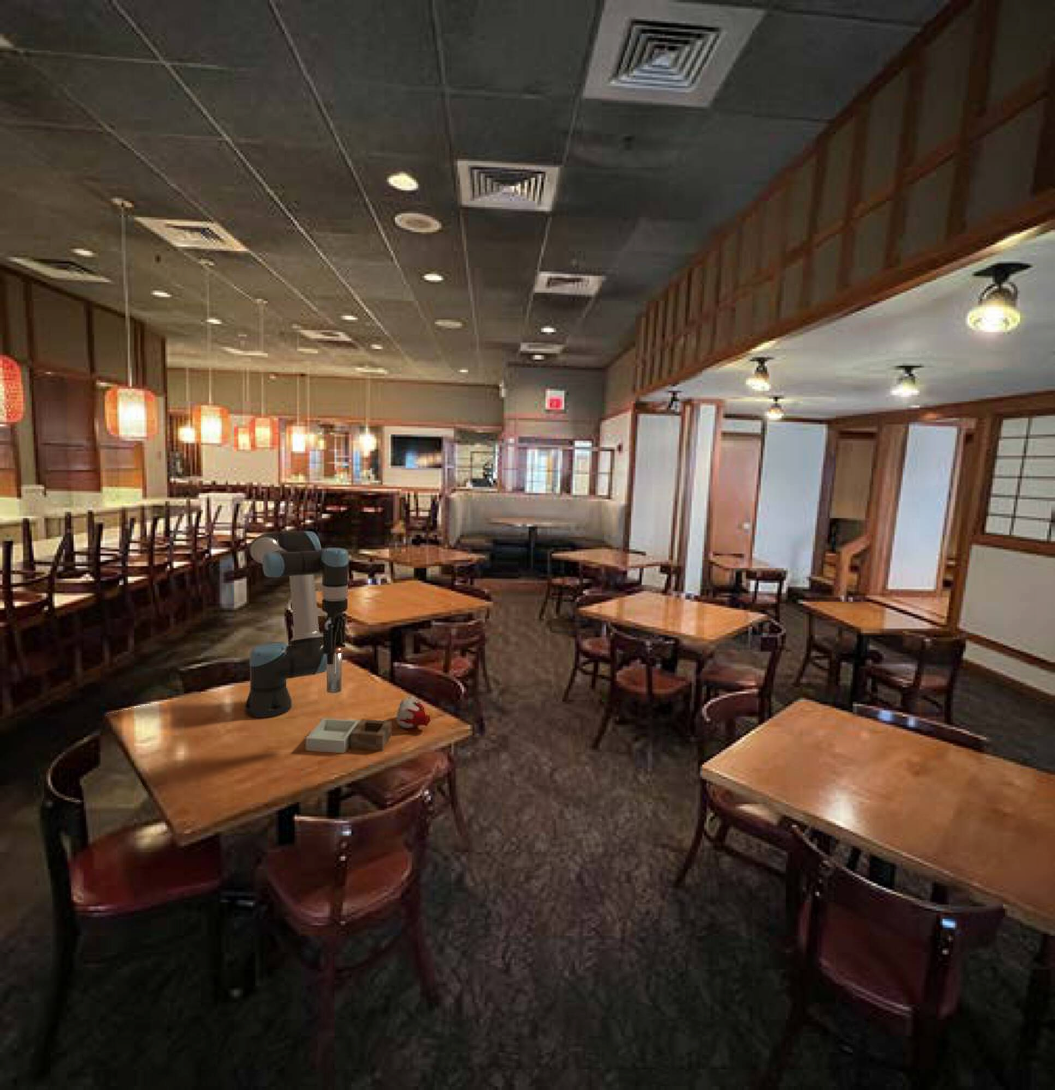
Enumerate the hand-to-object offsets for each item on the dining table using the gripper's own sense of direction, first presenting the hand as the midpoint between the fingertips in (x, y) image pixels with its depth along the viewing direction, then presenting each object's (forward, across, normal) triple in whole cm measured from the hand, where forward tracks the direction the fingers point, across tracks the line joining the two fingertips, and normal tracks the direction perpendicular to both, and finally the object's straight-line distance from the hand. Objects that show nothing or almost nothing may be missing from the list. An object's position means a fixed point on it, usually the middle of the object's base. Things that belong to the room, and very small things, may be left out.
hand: (334, 670), depth 174 cm
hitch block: (+24, -1, +12) cm, 27 cm away
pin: (+7, 0, 0) cm, 7 cm away
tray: (+24, 0, 0) cm, 24 cm away
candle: (+24, -14, +22) cm, 35 cm away
